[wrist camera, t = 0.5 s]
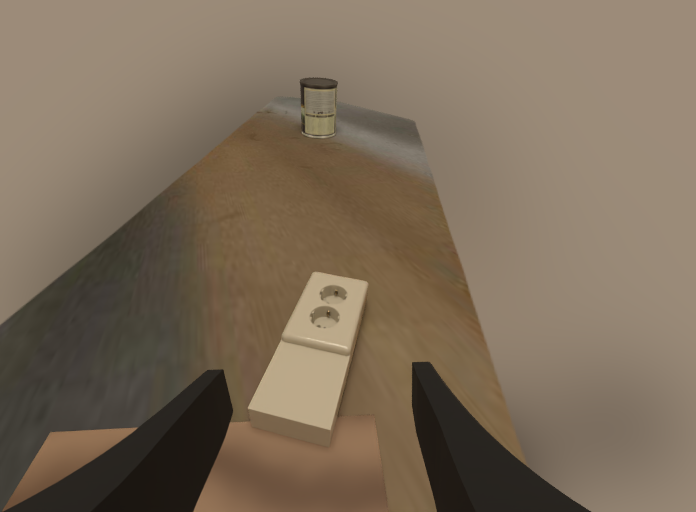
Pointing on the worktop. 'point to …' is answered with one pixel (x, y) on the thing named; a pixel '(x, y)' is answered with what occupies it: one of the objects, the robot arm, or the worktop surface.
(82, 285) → the worktop surface
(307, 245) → the worktop surface
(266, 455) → the wooden board
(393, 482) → the worktop surface
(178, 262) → the worktop surface
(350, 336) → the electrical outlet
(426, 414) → the robot arm
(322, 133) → the coffee can
